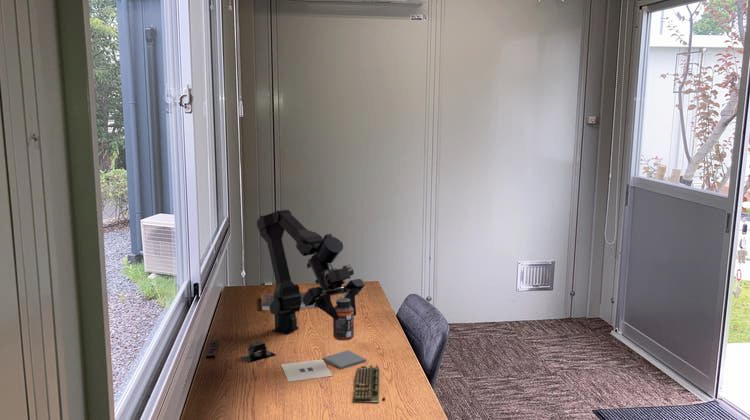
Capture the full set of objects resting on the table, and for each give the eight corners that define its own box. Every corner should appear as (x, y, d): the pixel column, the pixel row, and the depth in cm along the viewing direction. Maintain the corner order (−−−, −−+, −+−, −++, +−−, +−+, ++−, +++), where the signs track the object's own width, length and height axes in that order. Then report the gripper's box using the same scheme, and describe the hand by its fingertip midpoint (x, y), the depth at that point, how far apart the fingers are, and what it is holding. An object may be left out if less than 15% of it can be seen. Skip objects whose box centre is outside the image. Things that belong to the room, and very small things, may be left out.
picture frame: (262, 312, 223) (321, 308, 227) (262, 305, 223) (321, 302, 227) (261, 299, 239) (316, 296, 243) (261, 293, 239) (316, 290, 243)
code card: (281, 365, 173) (281, 364, 173) (322, 359, 177) (322, 359, 177) (288, 381, 162) (288, 381, 162) (332, 376, 165) (332, 375, 165)
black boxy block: (270, 349, 186) (269, 335, 185) (282, 356, 180) (282, 342, 180) (233, 359, 178) (232, 344, 178) (244, 367, 173) (244, 352, 172)
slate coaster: (322, 359, 177) (322, 357, 177) (347, 352, 183) (347, 350, 182) (340, 369, 170) (340, 367, 170) (366, 361, 176) (366, 359, 176)
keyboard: (355, 369, 171) (355, 363, 171) (387, 370, 171) (387, 363, 171) (350, 405, 150) (350, 397, 149) (387, 405, 149) (387, 397, 149)
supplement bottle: (355, 340, 173) (355, 302, 171) (334, 342, 172) (333, 303, 170) (352, 333, 179) (352, 296, 177) (332, 334, 178) (331, 297, 176)
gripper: (307, 261, 169) (330, 309, 162) (361, 252, 181) (384, 296, 174) (293, 282, 176) (314, 329, 170) (345, 272, 188) (367, 316, 181)
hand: (346, 317), depth 173 cm, fingers closed on supplement bottle, 6 cm apart
